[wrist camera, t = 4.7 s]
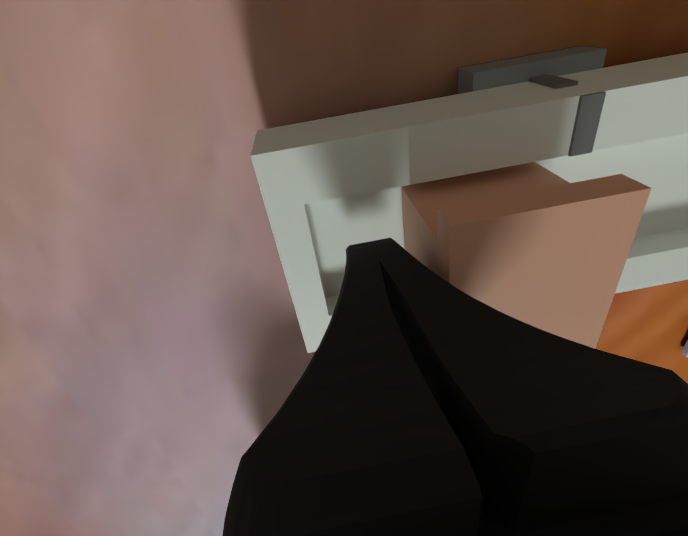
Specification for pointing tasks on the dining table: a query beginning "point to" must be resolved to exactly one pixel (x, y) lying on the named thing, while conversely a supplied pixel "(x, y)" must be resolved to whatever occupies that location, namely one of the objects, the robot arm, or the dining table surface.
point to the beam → (479, 161)
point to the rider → (528, 242)
